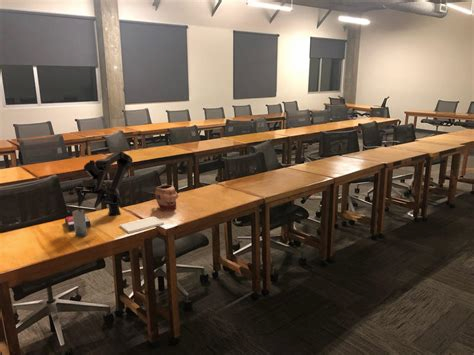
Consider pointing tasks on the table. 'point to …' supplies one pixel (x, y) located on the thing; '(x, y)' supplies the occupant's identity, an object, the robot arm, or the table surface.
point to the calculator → (70, 223)
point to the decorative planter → (166, 197)
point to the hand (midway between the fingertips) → (86, 206)
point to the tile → (141, 224)
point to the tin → (79, 223)
